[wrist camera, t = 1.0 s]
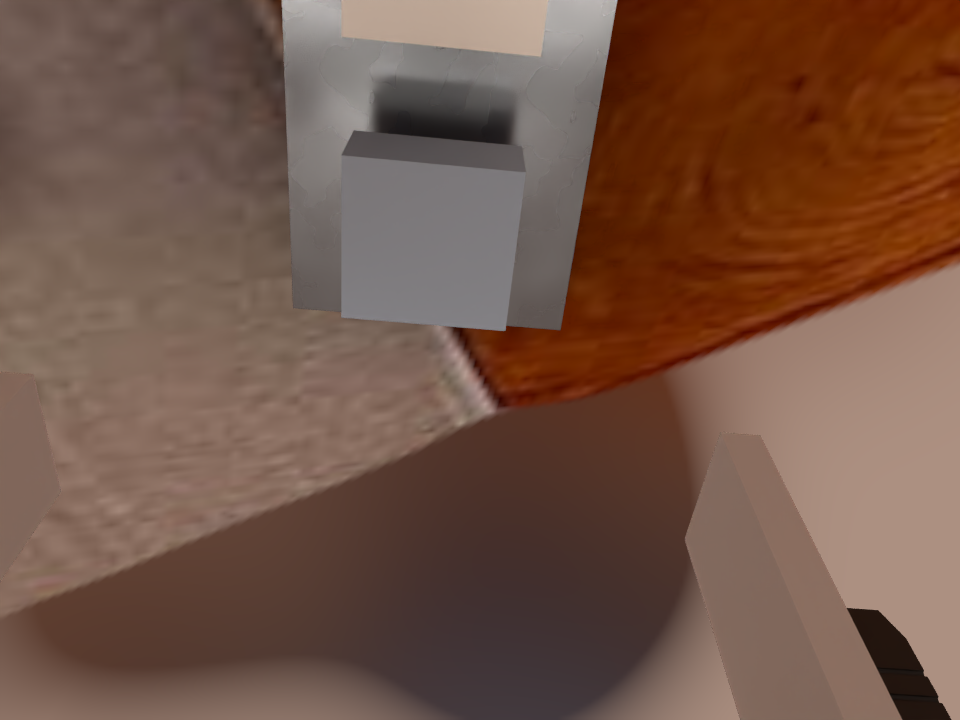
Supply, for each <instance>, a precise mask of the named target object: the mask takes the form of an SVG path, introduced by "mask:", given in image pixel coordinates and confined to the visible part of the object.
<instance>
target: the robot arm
mask: <svg viewBox="0 0 960 720" xmlns="http://www.w3.org/2000/svg"><path fill="white" fill-rule="evenodd" d="M60 493H61V488H60V484H59V479H58V475H57V471H56V467H55V463H54V459H53V454H52V450H51V446H50V442H49V438H48V434H47V429H46V425H45V421H44V417H43V413H42V409H41V404H40V400H39V396H38V392H37V388H36V383H35V379H34V375H33V374H21V373H9V372H0V581H1V580H2V578H3V577H4V575H5V574H6V572H7V571H8V570H9V568H10V567H11V565H12V564H13V562H14V561H15V559H16V558H17V556H18V555H19V553H20V552H21V550H22V549H23V547H24V546H25V544H26V543H27V542H28V540H29V539H30V537H31V536H32V534H33V533H34V531H35V530H36V528H37V527H38V525H39V524H40V522H41V521H42V519H43V518H44V517H45V515H46V514H47V512H48V511H49V509H50V508H51V506H52V505H53V503H54V502H55V500H56V499H57V497H58V496H59V494H60ZM685 542H686V545H687V548H688V551H689V555H690V558H691V561H692V564H693V568H694V571H695V574H696V577H697V581H698V584H699V587H700V590H701V594H702V597H703V600H704V603H705V607H706V610H707V613H708V616H709V620H710V623H711V626H712V629H713V633H714V636H715V639H716V642H717V646H718V649H719V652H720V656H721V659H722V662H723V665H724V668H725V672H726V675H727V678H728V681H729V685H730V688H731V691H732V695H733V698H734V701H735V704H736V707H737V711H738V714H739V717H740V720H951V718H950V716H949V715H948V713H947V711H946V709H945V707H944V706H943V704H942V703H939V701H938V695H937V693H936V691H935V689H934V688H933V686H932V684H931V682H930V680H929V679H928V677H925V676H924V673H923V672H924V670H923V668H922V666H921V664H920V663H919V661H918V659H917V657H916V655H915V654H914V652H913V650H912V648H911V646H910V645H909V643H908V641H907V639H906V638H905V637H904V636H903V635H902V634H901V633H900V632H899V631H898V630H897V629H896V628H895V627H894V626H893V625H892V624H891V623H890V622H889V621H888V620H887V619H886V618H885V617H884V616H883V615H882V614H881V613H880V612H879V611H878V610H866V609H852V608H846V606H845V604H844V602H843V600H842V598H841V596H840V594H839V592H838V590H837V588H836V586H835V584H834V582H833V580H832V578H831V576H830V574H829V572H828V570H827V568H826V566H825V564H824V562H823V560H822V558H821V556H820V554H819V552H818V550H817V548H816V546H815V544H814V542H813V540H812V538H811V536H810V534H809V532H808V530H807V528H806V526H805V524H804V522H803V520H802V518H801V516H800V514H799V512H798V510H797V508H796V506H795V504H794V502H793V500H792V498H791V496H790V494H789V492H788V490H787V488H786V486H785V484H784V482H783V480H782V478H781V476H780V474H779V472H778V470H777V468H776V466H775V464H774V462H773V460H772V458H771V456H770V454H769V452H768V450H767V448H766V446H765V444H764V442H763V440H762V438H761V436H760V435H748V434H735V433H723V432H721V433H720V435H719V438H718V441H717V444H716V447H715V450H714V453H713V456H712V459H711V462H710V465H709V468H708V471H707V474H706V477H705V480H704V483H703V486H702V489H701V492H700V495H699V498H698V501H697V504H696V507H695V510H694V513H693V516H692V519H691V522H690V525H689V528H688V531H687V534H686V537H685Z"/></svg>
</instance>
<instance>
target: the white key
mask: <svg viewBox="0 0 960 720" xmlns="http://www.w3.org/2000/svg"><path fill="white" fill-rule="evenodd" d="M547 6H548V0H341V37H349V38H359V39H369V40H379V41H389V42H399V43H409V44H418V45H428V46H438V47H448V48H458V49H468V50H478V51H488V52H498V53H508V54H518V55H528V56H538V57H541V52H542V44H543V37H544V29H545V21H546V13H547Z"/></svg>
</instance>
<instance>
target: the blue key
mask: <svg viewBox="0 0 960 720" xmlns="http://www.w3.org/2000/svg"><path fill="white" fill-rule="evenodd" d="M525 176H526V170H525V163H524V157H523V150H522V146H515V145H504V144H494V143H483V142H472V141H462V140H451V139H441V138H430V137H419V136H409V135H398V134H388V133H377V132H367V131H356V130H354V131H353V133H352V135H351V137H350V139H349V141H348V143H347V145H346V147H345V149H344V151H343V153H342V155H341V318H353V319H366V320H378V321H390V322H402V323H414V324H426V325H438V326H451V327H463V328H475V329H487V330H499V331H505V330H506V323H507V315H508V307H509V299H510V292H511V284H512V276H513V268H514V261H515V253H516V245H517V238H518V230H519V222H520V214H521V207H522V199H523V191H524V183H525Z"/></svg>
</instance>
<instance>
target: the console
mask: <svg viewBox="0 0 960 720" xmlns="http://www.w3.org/2000/svg"><path fill="white" fill-rule="evenodd" d="M616 5H617V0H548V6H547V13H546V21H545V29H544V37H543V44H542V52H541V57H538V56H528V55H518V54H508V53H498V52H488V51H478V50H468V49H458V48H448V47H438V46H428V45H418V44H409V43H399V42H389V41H379V40H369V39H359V38H349V37H341V0H282V20H283V47H284V74H285V101H286V128H287V155H288V182H289V209H290V236H291V263H292V290H293V308H299V309H311V310H323V311H335V312H341V155H342V153H343V151H344V149H345V147H346V145H347V143H348V141H349V139H350V137H351V135H352V133H353V131H354V130H356V131H367V132H377V133H388V134H398V135H409V136H419V137H430V138H441V139H451V140H462V141H472V142H483V143H494V144H504V145H515V146H522V150H523V157H524V163H525V170H526V176H525V183H524V191H523V199H522V207H521V214H520V222H519V230H518V238H517V245H516V253H515V261H514V268H513V276H512V284H511V292H510V299H509V307H508V315H507V323H506V326H517V327H529V328H541V329H553V330H560V329H561V324H562V318H563V312H564V306H565V300H566V295H567V289H568V283H569V277H570V271H571V266H572V260H573V254H574V248H575V242H576V237H577V231H578V225H579V219H580V213H581V208H582V202H583V196H584V190H585V184H586V179H587V173H588V167H589V161H590V155H591V150H592V144H593V138H594V132H595V126H596V121H597V115H598V109H599V103H600V97H601V92H602V86H603V80H604V74H605V68H606V63H607V57H608V51H609V45H610V39H611V34H612V28H613V22H614V16H615V11H616Z"/></svg>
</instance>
